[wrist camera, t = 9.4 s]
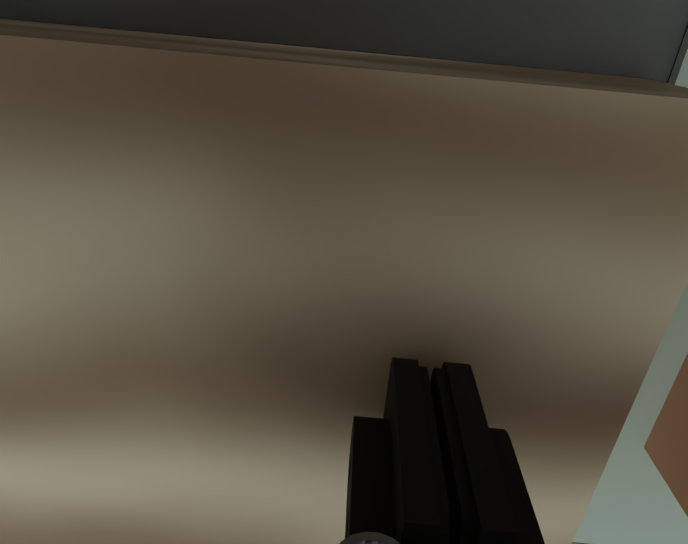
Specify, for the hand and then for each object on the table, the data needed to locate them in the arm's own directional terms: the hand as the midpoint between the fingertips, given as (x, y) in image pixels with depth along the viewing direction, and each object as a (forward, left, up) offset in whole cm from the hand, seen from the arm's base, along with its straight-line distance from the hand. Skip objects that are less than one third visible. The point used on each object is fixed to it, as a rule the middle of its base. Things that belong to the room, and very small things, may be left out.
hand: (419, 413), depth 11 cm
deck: (0, -5, -4) cm, 7 cm away
